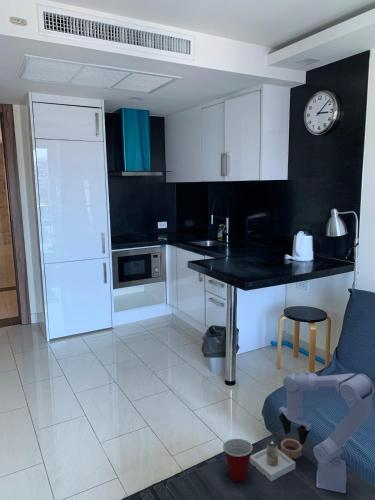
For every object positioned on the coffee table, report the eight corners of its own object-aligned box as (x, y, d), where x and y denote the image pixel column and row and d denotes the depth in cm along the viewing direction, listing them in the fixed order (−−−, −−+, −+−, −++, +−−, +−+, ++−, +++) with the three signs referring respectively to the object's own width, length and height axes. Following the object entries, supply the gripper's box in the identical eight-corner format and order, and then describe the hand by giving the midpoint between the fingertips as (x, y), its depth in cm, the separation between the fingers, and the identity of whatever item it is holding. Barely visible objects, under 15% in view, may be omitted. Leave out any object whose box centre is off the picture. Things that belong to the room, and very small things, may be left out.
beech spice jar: (278, 460, 144) (278, 438, 143) (277, 467, 140) (277, 445, 139) (267, 458, 145) (267, 436, 144) (266, 465, 142) (266, 443, 140)
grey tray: (273, 450, 151) (272, 445, 151) (295, 468, 141) (295, 462, 140) (249, 462, 145) (249, 456, 145) (271, 481, 135) (271, 475, 134)
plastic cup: (250, 464, 144) (249, 435, 142) (256, 486, 133) (255, 454, 131) (222, 466, 144) (221, 437, 142) (225, 487, 133) (224, 456, 131)
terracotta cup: (302, 446, 153) (302, 440, 152) (301, 460, 145) (301, 453, 145) (282, 443, 155) (282, 437, 155) (279, 456, 148) (279, 449, 147)
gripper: (317, 410, 138) (317, 444, 139) (288, 393, 150) (288, 425, 152) (303, 416, 134) (303, 451, 136) (275, 398, 147) (275, 431, 148)
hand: (294, 438), depth 144 cm, fingers open, 7 cm apart
